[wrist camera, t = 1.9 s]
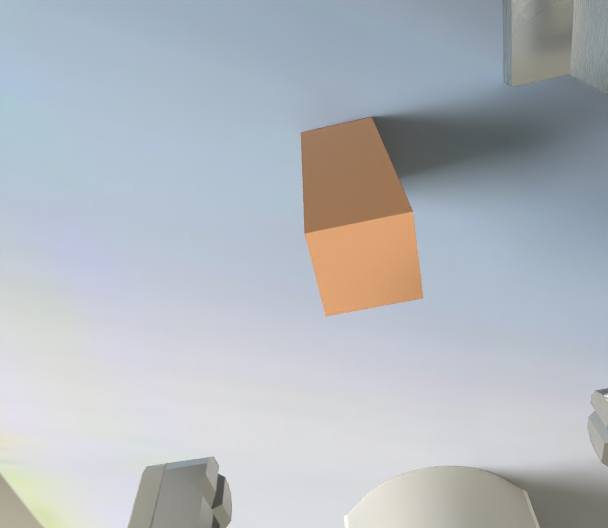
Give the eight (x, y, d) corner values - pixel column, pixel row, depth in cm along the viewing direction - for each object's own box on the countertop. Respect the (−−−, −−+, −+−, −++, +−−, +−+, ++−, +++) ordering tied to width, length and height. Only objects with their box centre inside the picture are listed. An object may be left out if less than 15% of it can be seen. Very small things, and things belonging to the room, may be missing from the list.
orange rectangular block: (381, 182, 26) (423, 298, 18) (315, 196, 27) (325, 316, 18) (371, 116, 24) (412, 211, 16) (300, 132, 25) (304, 233, 16)
